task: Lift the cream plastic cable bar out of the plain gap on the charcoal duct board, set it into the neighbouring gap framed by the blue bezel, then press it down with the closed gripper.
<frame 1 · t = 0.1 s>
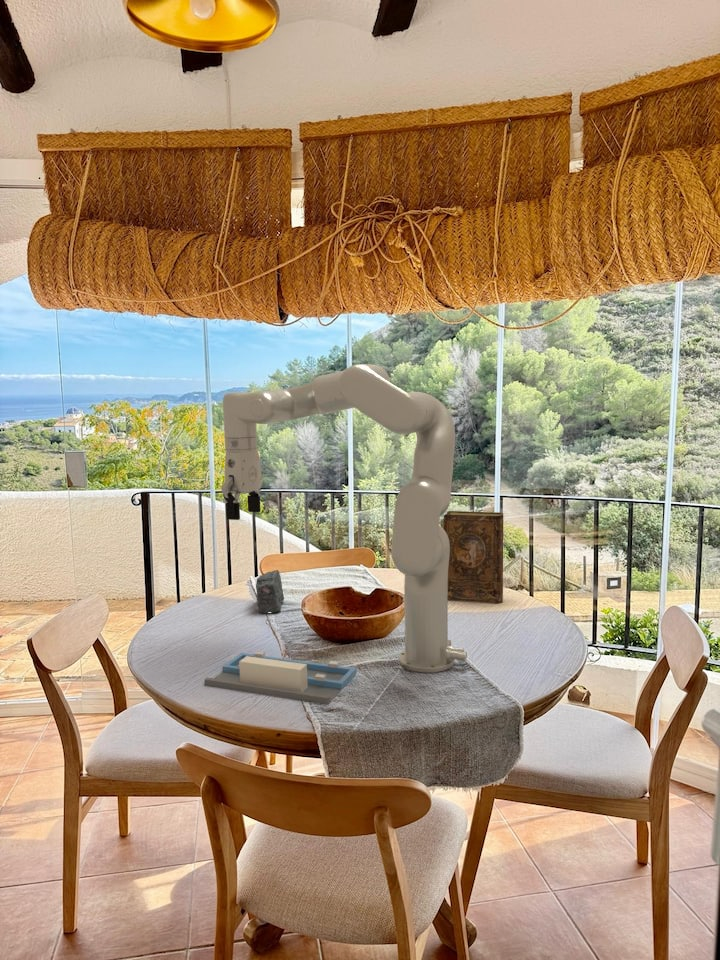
hand: (244, 515, 169), 31 cm above the table, tool pointing down, fingers open, 9 cm apart
cable bar: (273, 685, 144), point 1 cm above the table, touching duct board
book: (473, 599, 201), on the table
duct board: (281, 682, 148), on the table
stone: (270, 608, 198), on the table
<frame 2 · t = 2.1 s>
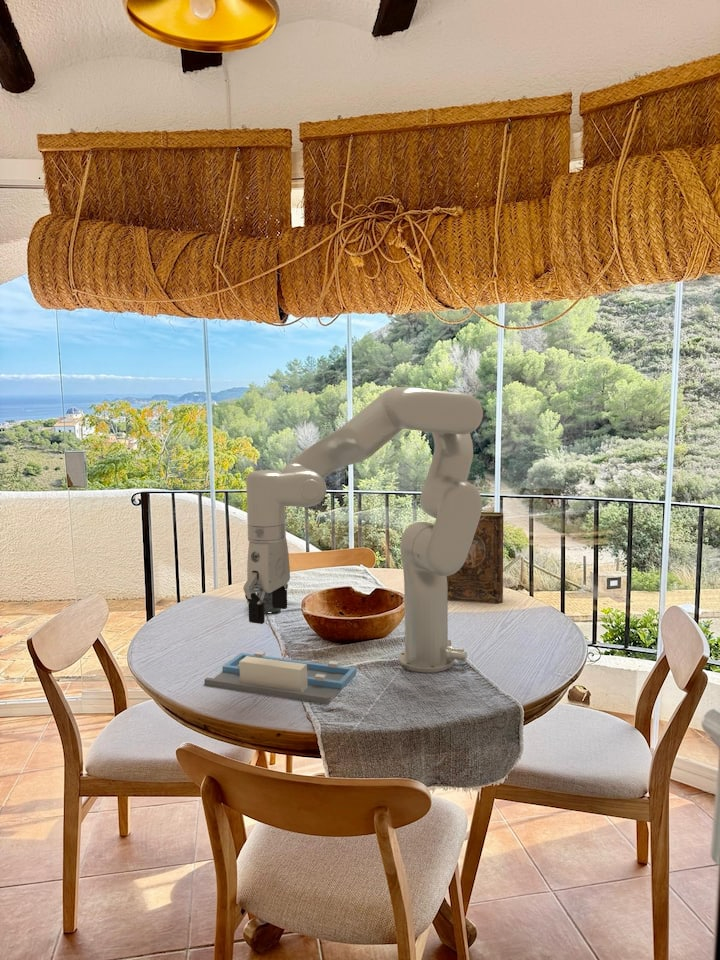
hand: (268, 615, 142), 16 cm above the table, tool pointing down, fingers open, 9 cm apart
nothing on the table moved.
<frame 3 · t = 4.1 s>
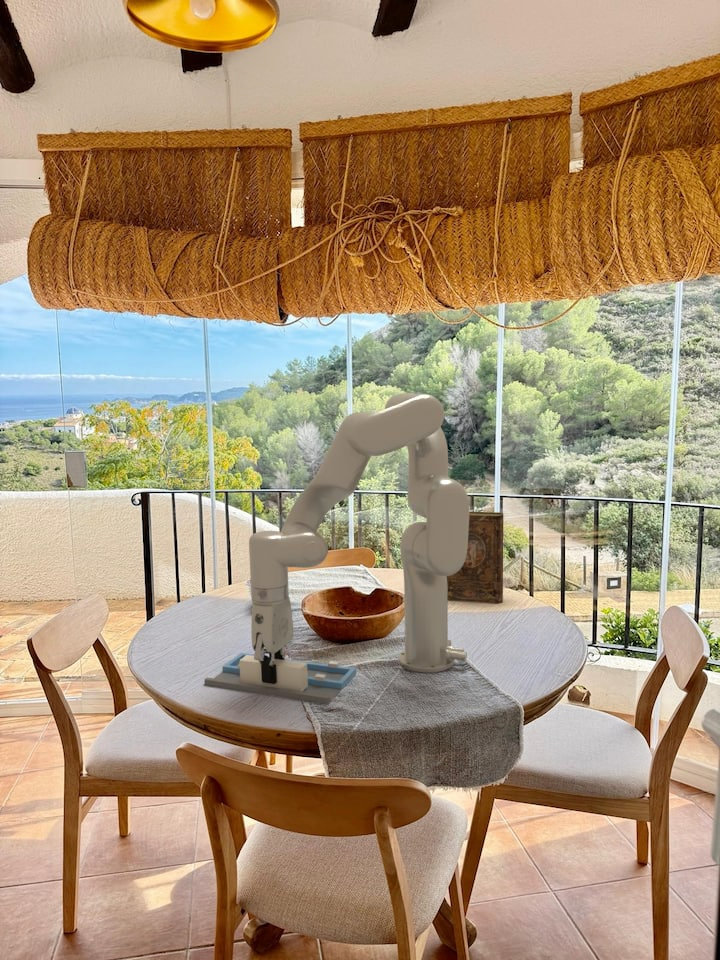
hand: (273, 678, 144), 2 cm above the table, tool pointing down, fingers closed on cable bar, 3 cm apart
cable bar: (273, 684, 144), point 1 cm above the table, touching gripper
everything else where it was.
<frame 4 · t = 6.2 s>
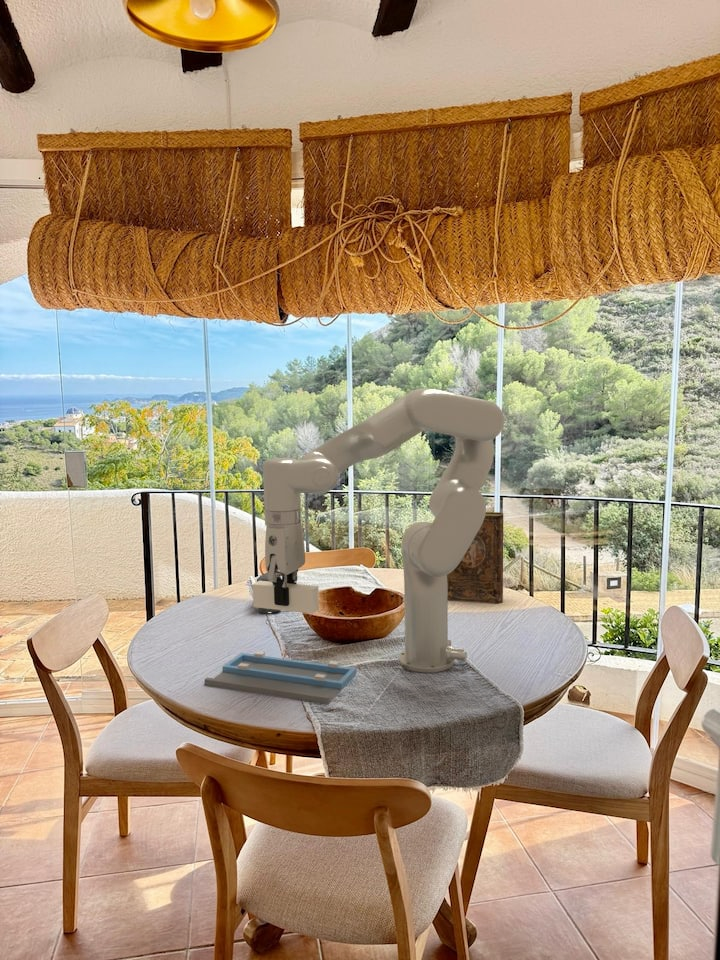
hand: (285, 601, 149), 17 cm above the table, tool pointing down, fingers closed on cable bar, 3 cm apart
cable bar: (285, 608, 149), point 15 cm above the table, touching gripper
everything else where it was.
when the fingers open (4 cm above the table, at t = 8.6 s): cable bar drops 2 cm, resting on duct board.
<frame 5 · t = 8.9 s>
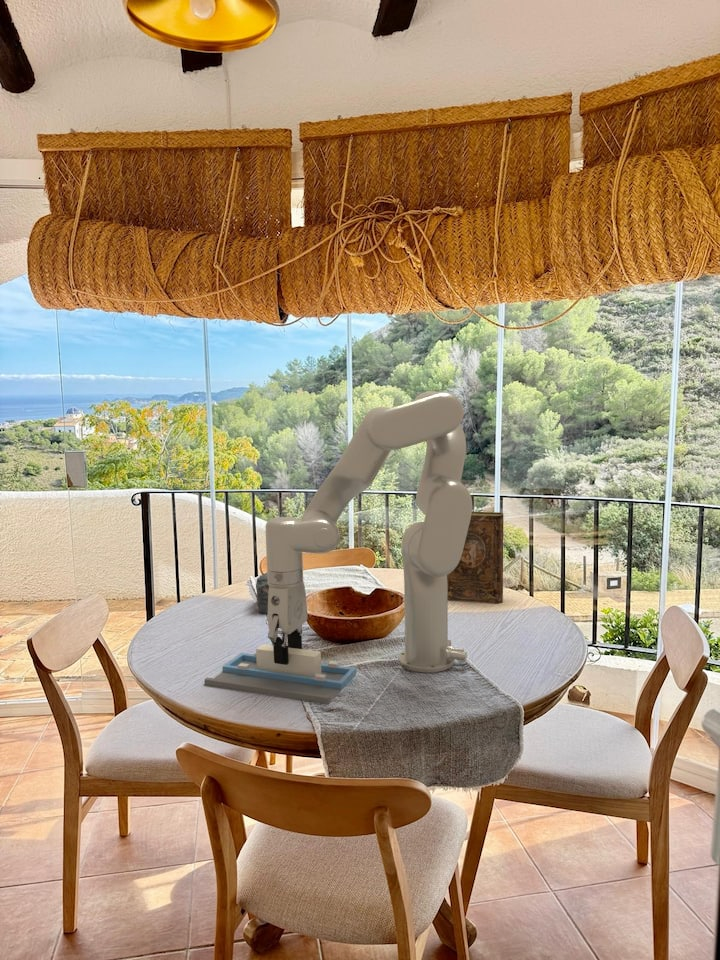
hand: (288, 657, 150), 4 cm above the table, tool pointing down, fingers open, 5 cm apart
cable bar: (288, 672, 151), point 1 cm above the table, touching duct board
everything else where it was.
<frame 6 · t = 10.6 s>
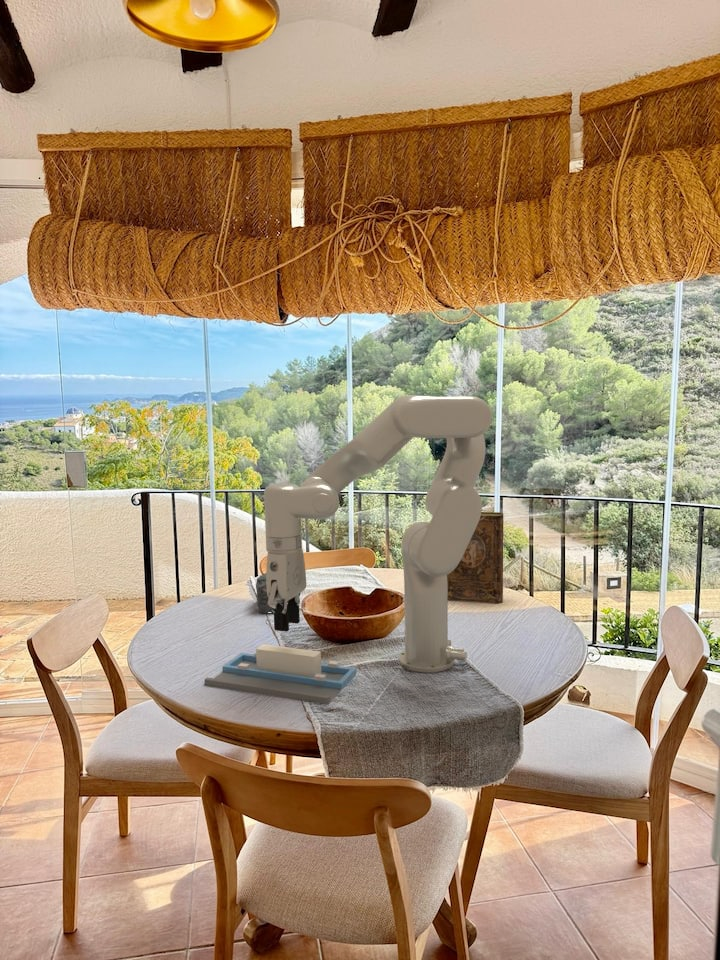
hand: (287, 625, 149), 11 cm above the table, tool pointing down, fingers open, 4 cm apart
nothing on the table moved.
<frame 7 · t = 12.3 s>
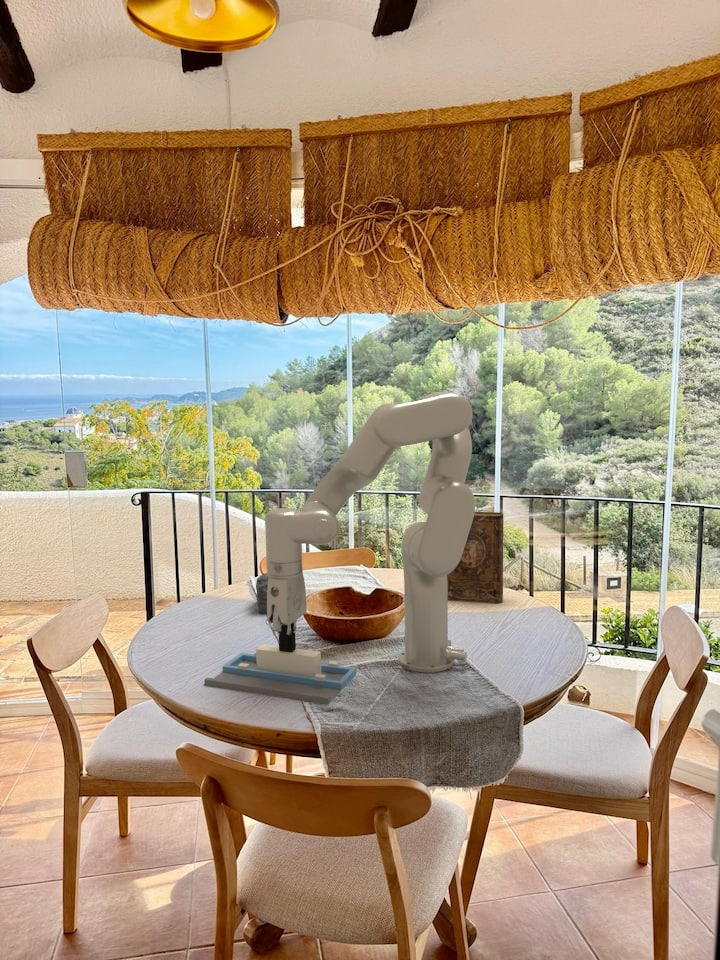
hand: (287, 650, 150), 6 cm above the table, tool pointing down, fingers closed
cable bar: (288, 672, 151), point 1 cm above the table, touching duct board, gripper
everything else where it was.
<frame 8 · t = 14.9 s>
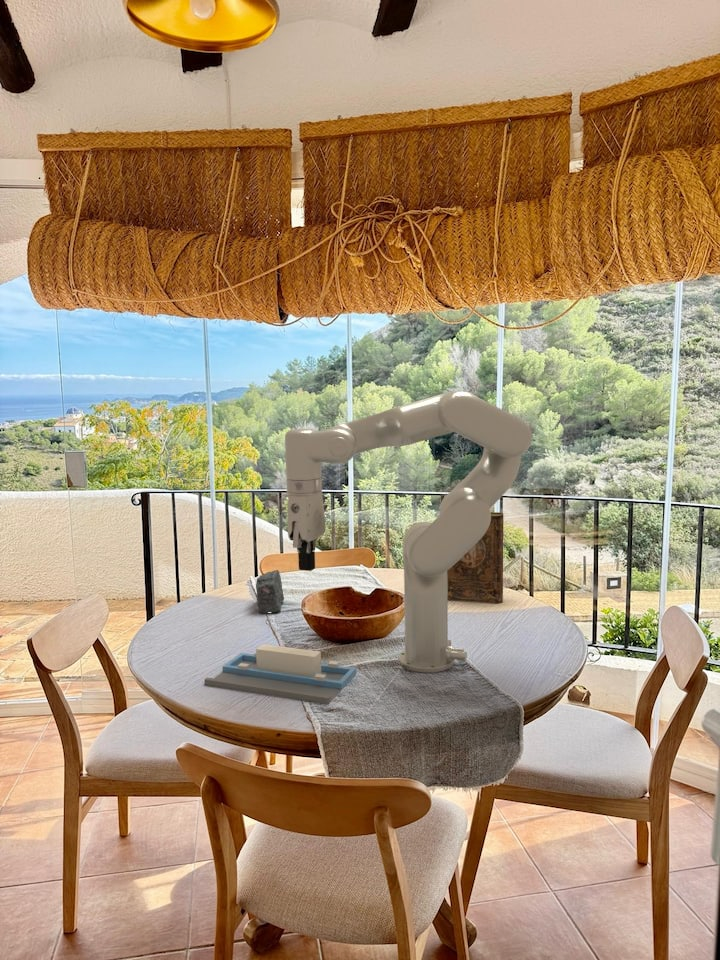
hand: (307, 569, 153), 22 cm above the table, tool pointing down, fingers closed
cable bar: (288, 672, 151), point 1 cm above the table, touching duct board
everything else where it was.
at the end: cable bar 0.0 cm from the target spot on the duct board, point 0.8 cm above the duct board's base; cable bar tilted 0°; the gripper is holding nothing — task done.
